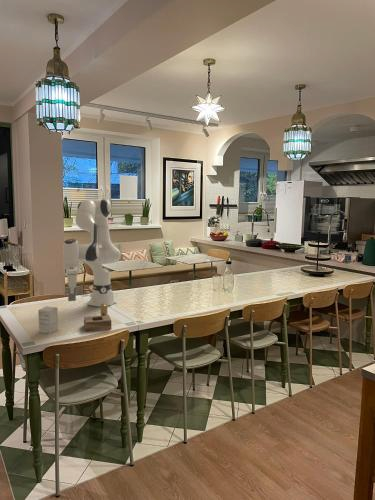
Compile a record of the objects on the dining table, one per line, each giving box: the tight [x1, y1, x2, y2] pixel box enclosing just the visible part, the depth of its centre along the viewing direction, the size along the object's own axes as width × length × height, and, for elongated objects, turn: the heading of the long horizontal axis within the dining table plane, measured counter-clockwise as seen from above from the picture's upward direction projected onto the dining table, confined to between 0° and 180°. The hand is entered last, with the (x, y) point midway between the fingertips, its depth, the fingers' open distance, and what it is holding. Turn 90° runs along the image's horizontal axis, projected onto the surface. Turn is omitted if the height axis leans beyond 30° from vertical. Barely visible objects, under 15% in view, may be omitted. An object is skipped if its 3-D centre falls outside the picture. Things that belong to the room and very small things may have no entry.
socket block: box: [83, 314, 112, 332], centre depth 214 cm, size 10×14×5 cm
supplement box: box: [37, 305, 59, 334], centre depth 207 cm, size 7×7×13 cm
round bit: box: [100, 304, 108, 316], centre depth 225 cm, size 4×4×10 cm
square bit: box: [67, 284, 77, 302], centre depth 216 cm, size 4×4×10 cm
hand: (71, 292), depth 216 cm, fingers closed on square bit, 4 cm apart
